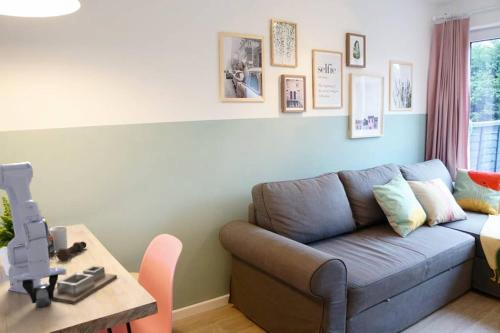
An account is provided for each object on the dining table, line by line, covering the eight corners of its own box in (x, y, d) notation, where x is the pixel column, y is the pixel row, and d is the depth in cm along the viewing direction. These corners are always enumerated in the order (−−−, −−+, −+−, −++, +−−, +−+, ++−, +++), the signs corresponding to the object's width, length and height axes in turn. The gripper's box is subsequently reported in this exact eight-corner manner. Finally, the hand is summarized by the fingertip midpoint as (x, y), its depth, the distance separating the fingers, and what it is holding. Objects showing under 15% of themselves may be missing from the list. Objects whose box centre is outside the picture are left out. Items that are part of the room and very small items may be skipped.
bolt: (86, 252, 171) (64, 264, 156) (76, 246, 171) (54, 258, 156) (91, 241, 170) (70, 252, 155) (81, 236, 170) (60, 246, 155)
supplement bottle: (43, 254, 165) (40, 229, 163) (57, 253, 165) (54, 228, 164) (36, 259, 159) (33, 233, 157) (51, 258, 159) (48, 232, 158)
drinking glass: (71, 248, 171) (69, 227, 169) (57, 253, 165) (55, 231, 164) (63, 246, 174) (61, 225, 173) (49, 250, 169) (46, 229, 167)
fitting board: (41, 297, 124) (40, 286, 123) (86, 273, 142) (86, 263, 142) (74, 303, 119) (73, 291, 119) (116, 277, 138) (116, 267, 137)
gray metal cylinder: (32, 307, 118) (30, 289, 117) (44, 300, 122) (42, 283, 121) (43, 309, 116) (40, 291, 115) (54, 302, 120) (52, 285, 119)
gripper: (9, 268, 110) (14, 311, 112) (63, 258, 116) (68, 300, 118) (12, 260, 117) (18, 301, 119) (64, 251, 123) (68, 290, 124)
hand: (43, 299), depth 119 cm, fingers closed on gray metal cylinder, 4 cm apart
